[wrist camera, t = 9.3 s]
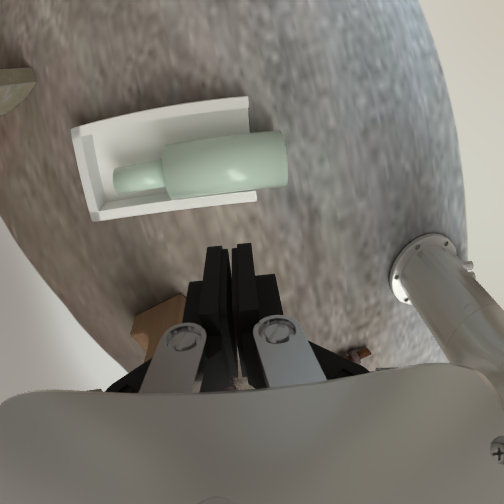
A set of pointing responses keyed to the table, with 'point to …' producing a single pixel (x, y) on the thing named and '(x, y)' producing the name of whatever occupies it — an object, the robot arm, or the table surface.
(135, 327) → the wooden block
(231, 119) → the u rest
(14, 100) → the padlock
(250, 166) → the bottle
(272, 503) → the robot arm
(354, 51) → the table surface
